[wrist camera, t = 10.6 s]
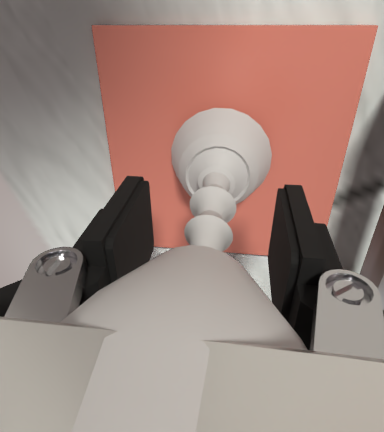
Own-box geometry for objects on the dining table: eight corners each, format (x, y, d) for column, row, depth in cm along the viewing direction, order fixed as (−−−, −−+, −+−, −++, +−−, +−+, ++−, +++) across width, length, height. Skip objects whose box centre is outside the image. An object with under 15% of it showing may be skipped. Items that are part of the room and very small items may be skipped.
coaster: (95, 25, 15) (91, 25, 15) (374, 25, 14) (378, 25, 13) (124, 239, 21) (122, 243, 21) (316, 254, 20) (318, 259, 19)
